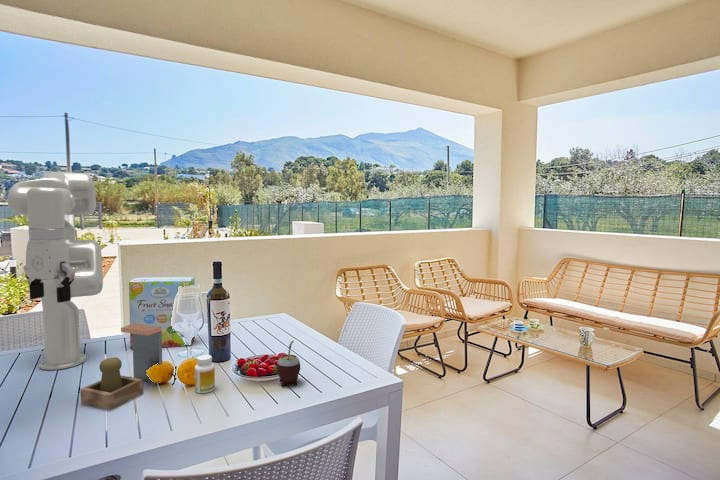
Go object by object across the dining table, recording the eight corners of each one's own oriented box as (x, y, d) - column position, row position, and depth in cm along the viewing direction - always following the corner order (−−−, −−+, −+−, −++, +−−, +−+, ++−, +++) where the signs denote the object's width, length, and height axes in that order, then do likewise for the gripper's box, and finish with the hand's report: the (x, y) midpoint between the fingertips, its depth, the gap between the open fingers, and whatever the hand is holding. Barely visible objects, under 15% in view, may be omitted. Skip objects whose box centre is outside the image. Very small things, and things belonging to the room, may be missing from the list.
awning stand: (122, 384, 120) (120, 327, 118) (137, 377, 124) (135, 323, 123) (149, 389, 117) (147, 331, 115) (162, 382, 121) (161, 326, 120)
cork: (112, 404, 108) (111, 364, 107) (93, 401, 109) (91, 362, 108) (129, 393, 114) (128, 356, 113) (110, 391, 115) (109, 354, 114)
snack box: (129, 350, 147) (126, 281, 145) (136, 342, 156) (134, 277, 154) (192, 346, 152) (191, 279, 150) (196, 339, 161) (195, 275, 159)
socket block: (80, 403, 108) (80, 389, 107) (115, 387, 117) (114, 374, 117) (110, 410, 104) (109, 395, 104) (143, 393, 114) (142, 379, 114)
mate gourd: (286, 376, 127) (286, 330, 126) (306, 381, 124) (307, 333, 122) (270, 385, 120) (270, 336, 119) (292, 391, 117) (292, 341, 116)
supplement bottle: (218, 387, 119) (218, 355, 118) (206, 395, 114) (205, 361, 113) (203, 384, 121) (203, 352, 120) (190, 392, 115) (190, 359, 115)
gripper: (8, 234, 104) (11, 299, 105) (57, 237, 99) (60, 306, 100) (38, 233, 111) (41, 294, 112) (86, 235, 106) (88, 299, 107)
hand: (50, 299), depth 106 cm, fingers open, 9 cm apart
